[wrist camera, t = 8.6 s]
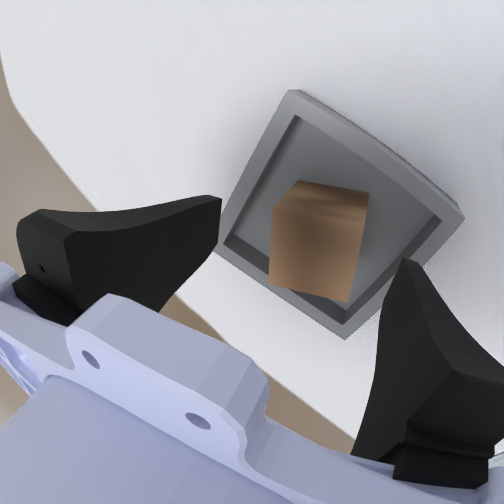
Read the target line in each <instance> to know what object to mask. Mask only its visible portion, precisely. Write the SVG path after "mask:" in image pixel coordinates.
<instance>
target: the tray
mask: <svg viewBox="0 0 504 504" xmlns="http://www.w3.org/2000/svg"><path fill="white" fill-rule="evenodd" d="M297 180H300V181H306V182H312V183H318V184H324V185H330V186H335V187H341V188H346V189H352V190H357V191H362V192H367V193H369V200H368V207H367V213H366V220H365V226H364V231H363V236H362V241H361V246H360V251H359V256H358V261H357V265H356V270H355V274H354V279H353V283H352V287H351V291H350V295H349V300H348V303H347V302H342V301H338V300H334V299H329V298H325V297H321V296H317V295H312V294H308V293H304V292H300V291H295V290H291V289H287V288H283V287H279V286H275V285H271V284H268V277H269V260H270V242H271V223H272V208H273V207H274V206H275V205H276V204H277V203H278V201H279V200H280V199H281V198H282V197H283V196H284V195H285V194H286V193H287V191H288V190H289V189H290V188H291V187H292V186H293V185H294V184H295V183H296V182H297ZM464 220H465V218H464V216H463V214H462V212H461V210H460V208H459V207H458V205H457V203H456V202H454V201H453V200H452V199H451V198H450V197H449V196H448V195H447V194H445V193H444V192H443V191H442V190H441V189H440V188H439V187H437V186H436V185H435V184H434V183H433V182H431V181H430V180H429V179H428V178H427V177H425V176H424V175H423V174H422V173H421V172H419V171H418V170H417V169H416V168H414V167H413V166H412V165H411V164H409V163H408V162H407V161H405V160H404V159H403V158H401V157H400V156H399V155H398V154H396V153H395V152H394V151H392V150H391V149H390V148H388V147H387V146H385V145H384V144H383V143H381V142H380V141H379V140H377V139H376V138H374V137H373V136H371V135H370V134H369V133H367V132H366V131H364V130H363V129H361V128H360V127H358V126H357V125H355V124H354V123H352V122H351V121H349V120H348V119H346V118H345V117H343V116H342V115H340V114H339V113H337V112H335V111H334V110H332V109H331V108H329V107H327V106H326V105H324V104H322V103H321V102H319V101H317V100H316V99H314V98H312V97H311V96H309V95H307V94H306V93H304V92H302V91H300V90H287V92H286V94H285V96H284V97H283V99H282V101H281V103H280V105H279V106H278V108H277V110H276V112H275V114H274V115H273V117H272V119H271V121H270V123H269V125H268V126H267V128H266V130H265V132H264V134H263V136H262V138H261V139H260V141H259V143H258V145H257V147H256V149H255V151H254V153H253V154H252V156H251V158H250V160H249V162H248V164H247V166H246V168H245V170H244V172H243V174H242V175H241V177H240V179H239V181H238V183H237V185H236V187H235V189H234V191H233V193H232V195H231V197H230V199H229V201H228V203H227V205H226V207H225V209H224V211H223V213H222V215H221V217H220V226H219V236H218V244H217V245H216V246H215V248H214V249H213V251H214V252H215V253H217V254H218V255H219V256H221V257H222V258H224V259H225V260H227V261H228V262H230V263H231V264H232V265H234V266H235V267H237V268H238V269H240V270H241V271H243V272H244V273H245V274H247V275H248V276H250V277H251V278H253V279H254V280H256V281H257V282H259V283H260V284H262V285H263V286H265V287H266V288H267V289H269V290H270V291H272V292H273V293H275V294H276V295H278V296H279V297H281V298H282V299H284V300H285V301H287V302H288V303H290V304H291V305H293V306H294V307H296V308H297V309H299V310H300V311H302V312H303V313H304V314H306V315H307V316H309V317H310V318H312V319H313V320H315V321H316V322H318V323H319V324H321V325H322V326H324V327H325V328H327V329H328V330H330V331H331V332H333V333H335V334H336V335H338V336H339V337H341V338H342V339H344V340H346V339H347V338H348V337H349V336H350V335H351V334H352V333H354V332H355V331H356V330H357V329H358V328H359V327H360V326H362V325H363V324H364V323H365V322H366V321H367V320H368V319H369V318H370V317H371V316H373V315H374V314H375V313H376V312H377V311H378V310H379V309H380V308H381V307H382V304H383V299H384V297H385V295H386V293H387V291H388V289H389V287H390V285H391V283H392V280H393V278H394V276H395V274H396V272H397V269H398V267H399V265H400V263H401V260H402V258H403V257H405V258H408V259H410V260H413V261H416V262H418V263H419V264H420V266H421V267H422V266H423V265H424V264H425V263H426V262H427V261H428V260H429V259H430V258H431V257H432V256H433V255H434V254H435V253H436V252H437V250H438V249H439V248H440V247H441V246H442V245H443V244H444V243H445V242H446V240H447V239H448V238H449V237H450V236H451V235H452V234H453V233H454V231H455V230H456V229H457V228H458V227H459V226H460V224H461V223H462V222H463V221H464Z"/></svg>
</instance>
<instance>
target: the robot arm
mask: <svg viewBox="0 0 504 504" xmlns="http://www.w3.org/2000/svg"><path fill="white" fill-rule="evenodd" d="M221 206H222V199H221V198H218V197H214V196H211V195H201V196H195V197H190V198H185V199H181V200H176V201H172V202H168V203H163V204H158V205H153V206H148V207H142V208H136V209H129V210H120V211H105V212H68V211H57V210H47V209H39V210H37V211H35V212H33V213H31V214H30V215H28V216H26V217H24V218H23V219H21V220H20V221H19V223H18V225H17V230H16V236H17V242H18V247H19V251H20V254H21V258H22V261H23V264H24V268H25V271H26V274H25V275H23V276H22V277H21V278H20V276H19V275H18V273H17V272H16V271H15V270H14V269H13V268H12V267H10V266H9V265H8V264H7V263H5V262H3V261H2V262H1V263H0V363H1V365H2V366H3V367H4V368H5V369H6V370H7V371H8V373H9V374H10V375H11V376H12V377H13V378H14V379H15V380H16V382H17V383H18V384H19V385H20V386H21V387H22V388H23V389H24V390H25V391H26V392H27V393H28V394H29V396H30V397H29V399H28V400H27V401H26V402H25V403H24V404H23V405H22V406H21V407H20V408H19V409H18V410H17V411H16V412H15V413H14V414H13V415H12V417H11V418H10V419H9V420H8V421H7V422H6V423H5V424H4V425H3V426H2V427H1V428H0V504H504V466H495V467H492V468H489V459H491V458H493V457H494V455H495V449H494V445H496V444H497V443H498V442H499V441H501V440H502V439H503V438H504V366H502V365H501V364H500V363H499V362H498V361H497V360H496V359H494V358H493V357H492V356H491V355H490V354H489V353H488V352H487V351H486V350H484V349H483V348H482V347H481V346H480V344H479V343H478V342H477V341H476V340H475V339H474V338H473V337H472V336H471V335H470V334H469V333H468V332H467V331H466V329H465V328H464V327H463V326H462V325H461V323H460V322H459V321H458V320H457V319H456V317H455V316H454V315H453V313H452V312H451V311H450V309H449V308H448V306H447V305H446V303H445V302H444V301H443V299H442V298H441V296H440V295H439V293H438V292H437V290H436V289H435V287H434V285H433V284H432V282H431V281H430V279H429V278H428V276H427V274H426V273H425V271H424V270H423V268H422V267H421V266H420V264H419V263H418V262H416V261H413V260H410V259H408V258H405V257H403V258H402V260H401V263H400V265H399V267H398V269H397V272H396V274H395V276H394V278H393V280H392V283H391V285H390V287H389V289H388V291H387V293H386V295H385V297H384V299H383V304H382V309H381V314H380V320H379V330H378V342H377V354H376V365H375V373H374V379H373V383H372V387H371V391H370V395H369V399H368V403H367V406H366V410H365V413H364V417H363V420H362V423H361V426H360V429H359V432H358V435H357V438H356V441H355V443H354V446H353V449H352V451H351V454H350V455H349V454H345V453H341V452H338V451H334V450H331V449H327V448H324V447H322V446H320V445H318V444H316V443H314V442H312V441H310V440H308V439H306V438H305V437H303V436H301V435H299V434H297V433H295V432H294V431H292V430H290V429H288V428H286V427H285V426H283V425H281V424H279V423H278V422H276V421H274V420H273V419H271V418H269V417H267V416H266V415H265V409H266V406H267V403H268V401H269V398H270V390H269V382H268V379H267V377H266V376H265V374H264V373H263V372H262V371H261V370H260V368H259V367H258V366H257V365H256V364H255V362H254V361H253V360H252V359H251V358H250V357H248V356H247V355H245V354H243V353H242V352H240V351H238V350H237V349H235V348H234V347H232V346H230V345H229V344H227V343H224V342H221V341H219V340H217V339H215V338H212V337H210V336H208V335H205V334H203V333H201V332H199V331H196V330H194V329H192V328H190V327H187V326H185V325H183V324H181V323H179V322H176V321H174V320H172V319H170V318H168V317H166V316H163V315H161V314H159V311H160V310H161V309H162V307H163V306H164V305H165V303H166V302H167V301H168V300H169V298H170V297H171V296H172V295H173V294H174V293H175V292H176V291H177V290H178V289H179V288H180V287H181V286H182V285H183V283H184V282H185V281H186V280H187V279H188V278H189V277H190V276H191V275H192V274H193V273H194V272H195V271H196V270H197V269H198V268H199V267H200V266H201V265H202V264H203V263H204V262H205V261H206V259H207V258H208V256H209V255H210V254H211V252H212V251H213V249H214V248H215V246H216V245H217V244H218V236H219V226H220V216H221Z"/></svg>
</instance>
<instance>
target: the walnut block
mask: <svg viewBox="0 0 504 504" xmlns="http://www.w3.org/2000/svg"><path fill="white" fill-rule="evenodd" d="M368 200H369V193H367V192H362V191H357V190H352V189H346V188H341V187H335V186H330V185H324V184H318V183H312V182H306V181H300V180H297V182H296V183H295V184H294V185H293V186H292V187H291V188H290V189H289V190H288V191H287V193H286V194H285V195H284V196H283V197H282V198H281V199H280V200H279V201H278V203H277V204H276V205H275V206H274V207H273V208H272V223H271V242H270V260H269V277H268V284H271V285H275V286H279V287H283V288H287V289H291V290H295V291H300V292H304V293H308V294H312V295H317V296H321V297H325V298H329V299H334V300H338V301H342V302H347V303H348V300H349V295H350V291H351V287H352V283H353V279H354V274H355V270H356V265H357V261H358V256H359V251H360V246H361V241H362V236H363V231H364V226H365V220H366V213H367V207H368Z"/></svg>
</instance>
